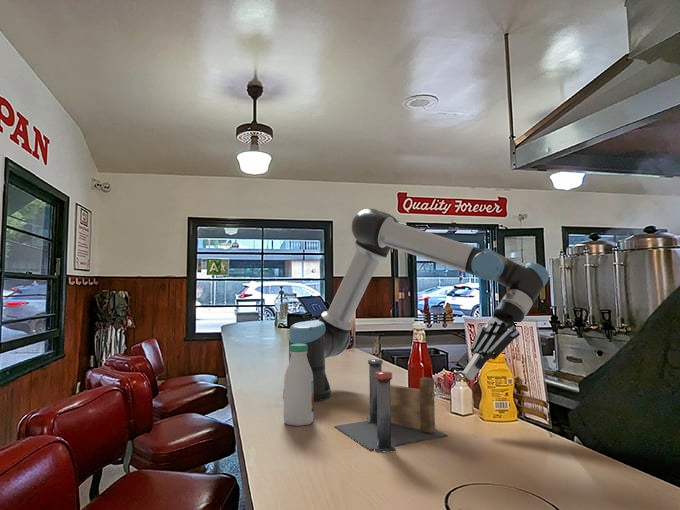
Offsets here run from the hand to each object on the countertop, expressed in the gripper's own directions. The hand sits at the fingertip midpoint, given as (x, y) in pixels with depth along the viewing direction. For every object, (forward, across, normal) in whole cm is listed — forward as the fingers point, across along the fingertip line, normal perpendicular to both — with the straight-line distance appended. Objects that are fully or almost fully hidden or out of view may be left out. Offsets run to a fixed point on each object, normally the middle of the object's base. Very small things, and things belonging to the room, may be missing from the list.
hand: (467, 376), depth 116 cm
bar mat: (+23, -4, -7) cm, 25 cm away
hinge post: (+23, -12, -6) cm, 26 cm away
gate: (+19, -4, -4) cm, 20 cm away
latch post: (+28, +4, -12) cm, 31 cm away
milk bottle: (+35, -22, -18) cm, 45 cm away
